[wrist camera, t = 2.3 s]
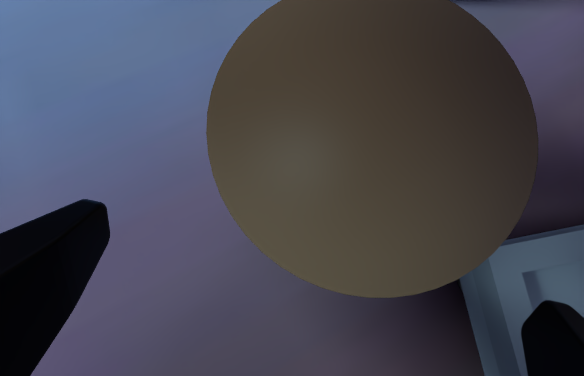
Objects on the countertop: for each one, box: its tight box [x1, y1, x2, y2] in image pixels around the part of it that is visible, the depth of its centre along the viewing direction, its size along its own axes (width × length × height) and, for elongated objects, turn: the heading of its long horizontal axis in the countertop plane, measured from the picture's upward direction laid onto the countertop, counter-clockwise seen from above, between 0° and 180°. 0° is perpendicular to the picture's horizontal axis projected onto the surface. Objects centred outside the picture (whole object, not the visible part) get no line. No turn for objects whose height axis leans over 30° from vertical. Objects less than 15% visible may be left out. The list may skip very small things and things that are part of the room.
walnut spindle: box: [206, 0, 538, 298], centre depth 11 cm, size 4×4×12 cm
